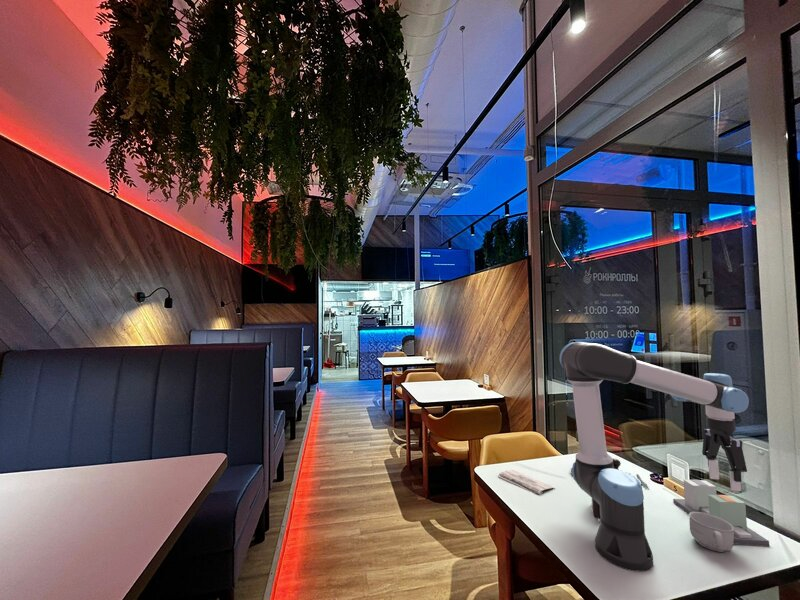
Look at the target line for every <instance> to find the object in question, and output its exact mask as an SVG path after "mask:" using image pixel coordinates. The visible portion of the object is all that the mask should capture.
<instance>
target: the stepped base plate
mask: <svg viewBox="0 0 800 600" xmlns="http://www.w3.org/2000/svg"><path fill="white" fill-rule="evenodd" d="M683 494H684V495H683V496H684V499H683V498H673V501H672V503H673V504H675V505H676V506H677V507H679V508H680V509H681V510H683V511H684V512H685V513H686V514H687V515H689V513H691V512H702V513H707V514H709V500H708V495H718V494H717V486H716V485H714V484H712V483H711V482H709V481H707V480H705V479H704V480H702V479H701V480H700V479H683ZM733 527H734V541H733V545H745V546H746V545H748V546H749V545H750V546H765V547H769V546H770V540H768V539H767V538H765V537H763V536H762V535H761V534H759V533H758V532H756V531H754V530H753V529H751V528H749V527H748V526H747V531H744V530H743V529H741V528H740V527H738V526H733Z"/></svg>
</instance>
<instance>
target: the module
mask: <svg viewBox="0 0 800 600" xmlns="http://www.w3.org/2000/svg"><path fill="white" fill-rule="evenodd" d="M708 500H709V514H710V515H713V516H716V517H718V518H721V519H723V520H725V521H727V522H728V523H730V524H731V525H732V526H738V527H740V528H741V529H743V530H744V531H747V527H748V524H747V523H748V522H747V510H746V509H747V508H746V502H745V501H744V500H743V501H742V500H741V499H739V498H738V497H736V496H733V495H726V494H717V495H708Z"/></svg>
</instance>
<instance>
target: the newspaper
mask: <svg viewBox="0 0 800 600" xmlns="http://www.w3.org/2000/svg"><path fill="white" fill-rule="evenodd" d="M498 477H499V478H501V479H503V480H505V481H506V482H507V481H508V482H510V483H511V484H514V485H517V486H518V487H521V488H522V489H524V490H526V491H527V492H529V493H530V492H531V493H534V494H538V495H541V494H544V493H543V492H544V491H546V490H549V489H552V488H554V490H555V489H556V488H555V487H553V486H551V485H549V484H546V483H544V482H541V481H539V480H537V479H534V478H532V477H530V476H527V475H525V474H523V473H520V472H518V471H516V470H513V469H511V470H504V471H502V472H499V473H498ZM542 491H543V492H542Z"/></svg>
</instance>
